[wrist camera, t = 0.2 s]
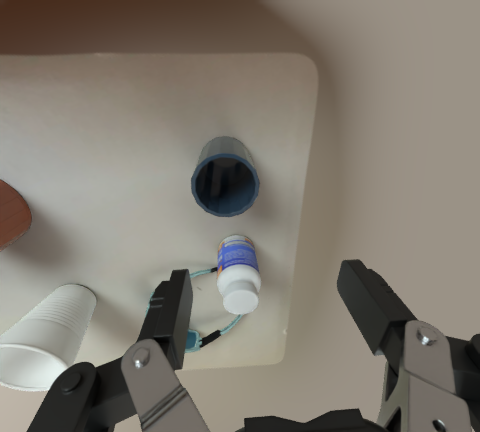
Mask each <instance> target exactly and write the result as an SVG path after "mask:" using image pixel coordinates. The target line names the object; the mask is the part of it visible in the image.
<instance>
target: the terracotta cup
mask: <svg viewBox="0 0 480 432" xmlns="http://www.w3.org/2000/svg"><path fill="white" fill-rule="evenodd" d="M30 225H31V212H30V210H29V207H28V205H27V204H26V202H25V200H24V199H23V198H22V197H21V195H20V194H19V193H18V192H17V191H16V190H14V189H13V188H12V187H11V186H9V185H8V184H7V183H5V182H3V181H2V180H0V251H2V250H3V249H4V248H6V247H7V246H9V245H10V244H11V243H13V242H14V241H16V240H17V239H18V238H20V237H21V236H23V235H24V234H25V233H26V232H27V231H28V229H29V228H30Z"/></svg>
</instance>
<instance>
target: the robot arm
mask: <svg viewBox="0 0 480 432" xmlns="http://www.w3.org/2000/svg"><path fill="white" fill-rule="evenodd" d="M337 288H338V291H339V294H340V296H341V298H342V299H343V301H344V303H345V305H346V306H347V308H348V310H349V312H350V314H351V315H352V317H353V319H354V321H355V323H356V324H357V326H358V328H359V330H360V332H361V333H362V335H363V337H364V339H365V340H366V342H367V344H368V346H369V348H370V349H371V351H372V353H373V354H374V356H375V355H385V357H386V359H387V362H386V366H385V375H384V385H383V394H382V403H381V409H380V412H379V416H378V419H377V423H374V422H372V421H369V420H367V419H363V418H362V415H361V413H360V410H359V409H346V410H335V411H330V412H327V413H325V414H323V415H321V416H319V417H317V418H315V419H313V420H311V421H309V422H306V423H300V422H296V421H292V420H288V419H283V418H280V417H276V416H265V417H253V418H245V419H244V424H245V427H243V428H241V429H239V430H237V431H236V432H472V429H471V426H472V428H473V429H474V431H475V432H480V334H476V335H474V336H473V337H472V338H471V340H470V341H466V340H461V339H457V338H452V337H448V336H444V335H443V334H442V333H441V332H440V331H439V330H438V329H437V328H435V327H434V326H432V325H430V324H428V323H426V322H423V321H419V320H417V318H416V317H415V316H414V315H413V314H412V312H411V311H410V310H409V309H408V308H407V306H406V305H405V304H404V303H403V302H402V300H401V299H400V298H399V297H398V296H397V295H396V293H394V292H393V290H392V289H391V288H390V286H388V284H387V283H386V282H385V280H384V279H383V278H382V277H381V276H380V275H379V274H377V273H376V272H375V271H373V270H372V269H367V268H366V267H365V265H364V264H363V263H362V262H361V261H360V260H358V259H357V260H344V261H342V264H341V268H340V272H339V276H338V280H337ZM192 301H193V292H192V285H191V280H190V274H189V270H188V269H181V270H173V271H172V274H171V277H170V281H162V282H161V283H160V284H159V286H158V287H157V288H156V289H155V292H154V295H153V297H152V301H151V303H150V306H149V309H148V312H147V314H146V317H145V320H144V323H143V326H142V329H141V332H140V334H139V337H138V340H137V342H136V343H135V344H134V345H132V346H131V347H130V348H129V349H128V350H127V351H126V353H125V354H124V355H123V356H122V357H120V358H118V359H116V360H114V361H111V362H108V363H106V364H103V365H101V366H98V367H94V365H93V364H92V363H89V362H81V363H77V364H75V365H72V366H71V367H69V368H67V369H66V370H65V371H63V372H62V373H61V374H60V375H59V376H58V377H57V378H56V380H55V381H54V382H53V384H52V385H51V387H50V389H49V391H48V393H47V395H46V396H45V398H44V401H43V402H42V404H41V406H40V408H39V410H38V412H37V414H36V415H35V417H34V419H33V421H32V423H31V424H30V426H29V428H28V430H27V432H113V431H114V428H115V424H116V423H118V422H120V421H122V420H125V419H127V418H129V417H131V416H133V415H135V414H138V416H139V419H140V422H141V429H142V432H210V430H209V429H208V427H207V425H206V423H205V421H204V420H203V418H202V416H201V414H200V413H199V411H198V409H197V408H196V405H195V404H194V402H193V400H192V398H191V397H190V395H189V393H188V392H187V390H186V389H185V388H183V386H182V385H181V383H180V381H179V379H178V378H177V376H176V374H175V370H180V369H182V367H183V360H184V354H185V347H186V341H187V334H188V328H189V321H190V315H191V308H192Z"/></svg>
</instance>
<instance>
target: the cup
mask: <svg viewBox="0 0 480 432" xmlns="http://www.w3.org/2000/svg"><path fill="white" fill-rule="evenodd" d="M96 302H97V301H96V297H95V296H94V294H93V293H92V292H91V291H90V290H89V289H87V288H86V287H83V286H80V285H76V284H68V285H62V286H60V287H58V288H57V289H56V290H54V291H53V292H52V293H51V294H50V295H49V296H47V297H46V298H45V299H44V300H43V301H42V302H40V303H39V304H38V305H37V306H36V307H34V308H33V309H32V310H31V311H30V312H29V313H27V314H26V315H25V316H24V317H23V318H22V319H20V320H19V321H18V322H17V323H16V324H14V325H13V326H12V327H11V328H9V329H8V330H7V331H6V332H5V333H4V334H2V335H1V336H0V385H2V386H4V387H8V388H12V389H16V390H22V391H48V390H49V389H50V387H51V385H52V384H53V382H54V381H55V380H56V378H57V377H58V376H59V375H60V374H61V373H62V372H63V371H65V370H66V369H67V368H69V367H71V366H72V365H73V364H74V361H75V359H76V356H77V354H78V351H79V348H80V345H81V342H82V340H83V337H84V335H85V332H86V330H87V327H88V324H89V322H90V319H91V316H92V314H93V311H94V309H95V306H96Z"/></svg>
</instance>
